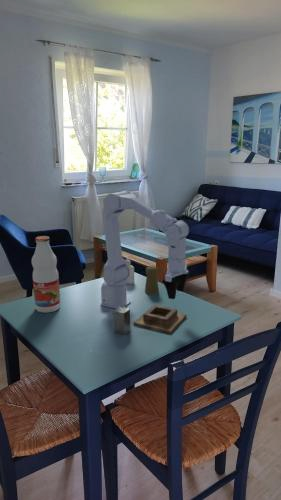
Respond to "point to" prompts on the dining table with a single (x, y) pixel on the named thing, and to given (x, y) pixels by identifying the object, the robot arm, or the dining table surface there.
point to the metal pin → (121, 320)
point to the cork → (151, 280)
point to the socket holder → (160, 319)
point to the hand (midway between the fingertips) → (176, 294)
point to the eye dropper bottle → (131, 277)
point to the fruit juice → (45, 277)
